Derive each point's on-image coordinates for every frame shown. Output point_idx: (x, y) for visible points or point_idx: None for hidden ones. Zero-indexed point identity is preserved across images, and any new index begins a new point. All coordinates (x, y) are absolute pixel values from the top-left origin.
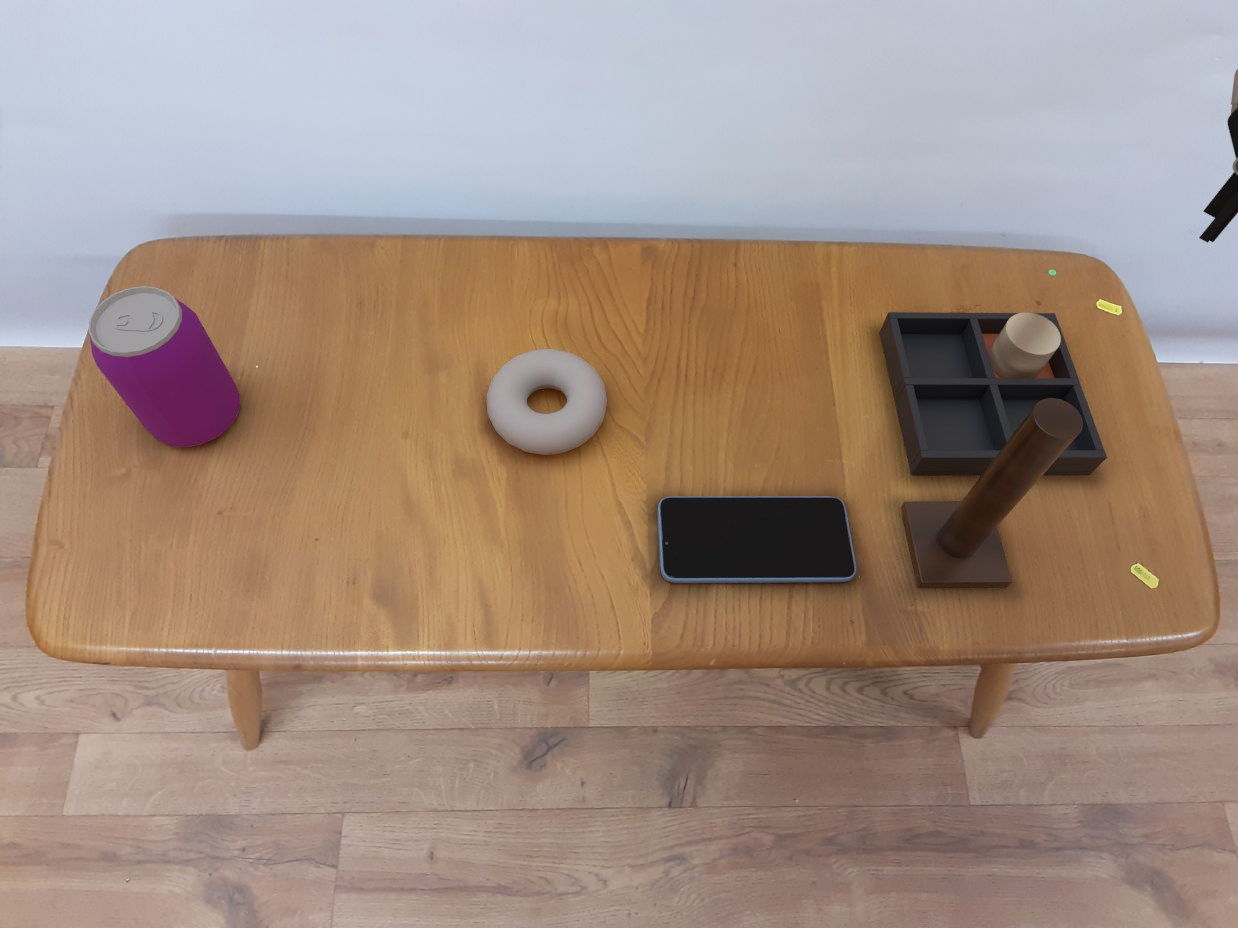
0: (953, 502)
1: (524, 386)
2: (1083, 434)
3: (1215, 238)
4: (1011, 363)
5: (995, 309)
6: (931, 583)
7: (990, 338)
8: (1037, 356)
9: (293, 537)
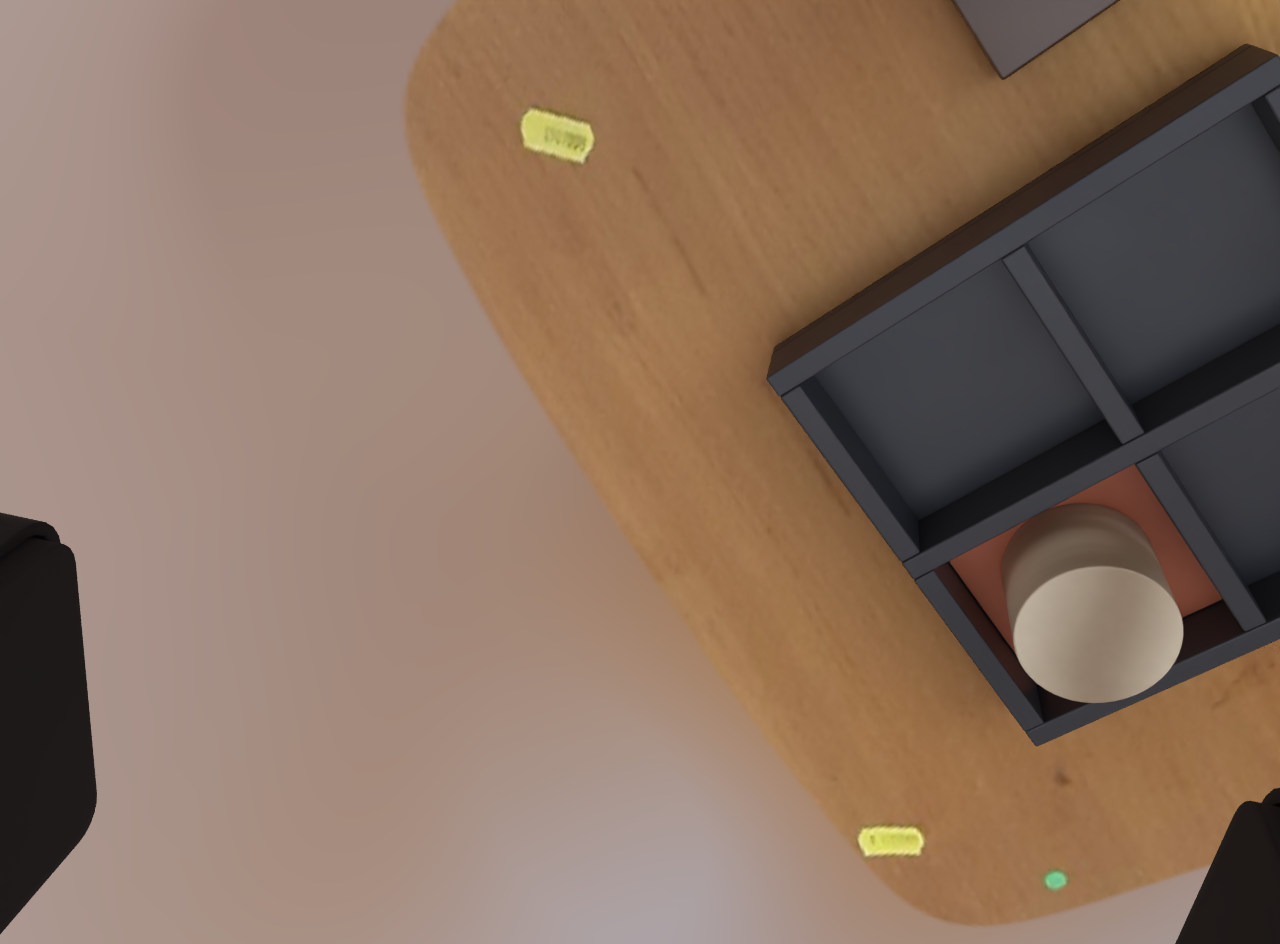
0: (1105, 5)
1: None
2: (840, 428)
3: (1269, 825)
4: (1105, 534)
5: (1166, 712)
6: None
7: None
8: (1059, 570)
9: None
